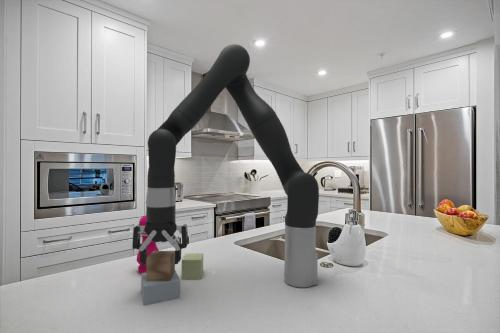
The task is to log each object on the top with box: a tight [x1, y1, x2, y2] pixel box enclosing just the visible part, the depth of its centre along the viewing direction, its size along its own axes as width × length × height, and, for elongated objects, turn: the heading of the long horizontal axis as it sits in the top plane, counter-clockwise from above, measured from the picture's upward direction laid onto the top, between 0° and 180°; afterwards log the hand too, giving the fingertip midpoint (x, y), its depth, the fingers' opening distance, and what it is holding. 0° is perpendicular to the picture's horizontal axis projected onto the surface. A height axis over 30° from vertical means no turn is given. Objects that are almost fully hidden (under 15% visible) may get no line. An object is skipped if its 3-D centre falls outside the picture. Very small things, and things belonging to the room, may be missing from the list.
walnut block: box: [146, 250, 176, 281], centre depth 73 cm, size 6×6×6 cm
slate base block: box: [140, 270, 181, 306], centre depth 72 cm, size 9×9×5 cm
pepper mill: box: [136, 214, 160, 275], centre depth 88 cm, size 7×7×20 cm
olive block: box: [180, 252, 204, 280], centre depth 85 cm, size 6×6×6 cm
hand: (160, 263), depth 72 cm, fingers open, 8 cm apart
